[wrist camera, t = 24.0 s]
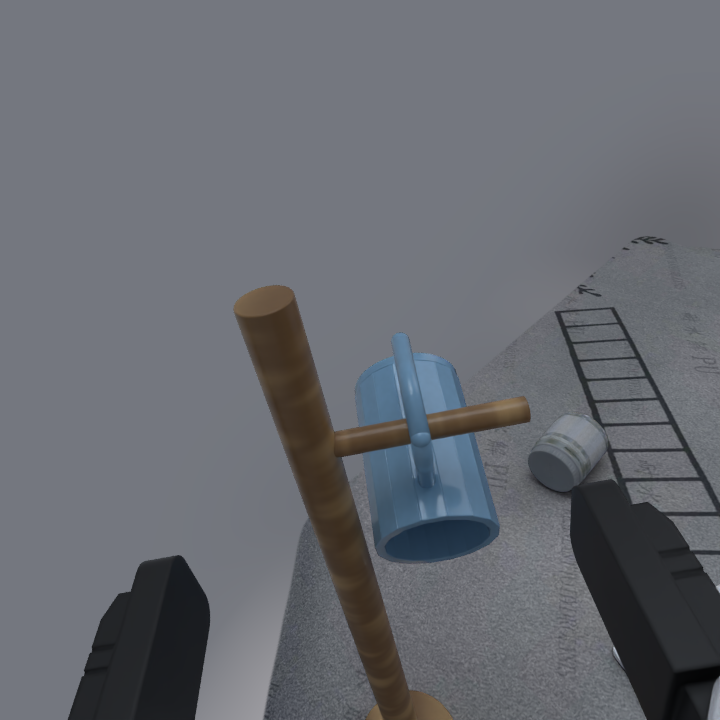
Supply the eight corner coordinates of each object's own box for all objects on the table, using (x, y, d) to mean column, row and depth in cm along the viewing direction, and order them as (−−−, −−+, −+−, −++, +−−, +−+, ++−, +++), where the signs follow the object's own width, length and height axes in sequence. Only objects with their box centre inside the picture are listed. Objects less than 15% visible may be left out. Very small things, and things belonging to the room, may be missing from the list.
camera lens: (573, 504, 62) (607, 461, 66) (580, 467, 58) (616, 423, 62) (522, 475, 66) (558, 435, 70) (526, 438, 62) (564, 399, 66)
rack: (365, 820, 42) (136, 381, 19) (358, 706, 49) (182, 274, 25) (552, 792, 42) (561, 298, 18) (519, 680, 48) (494, 210, 24)
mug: (457, 403, 38) (497, 551, 31) (363, 420, 38) (384, 571, 32) (453, 287, 29) (507, 461, 23) (330, 311, 29) (351, 489, 23)
